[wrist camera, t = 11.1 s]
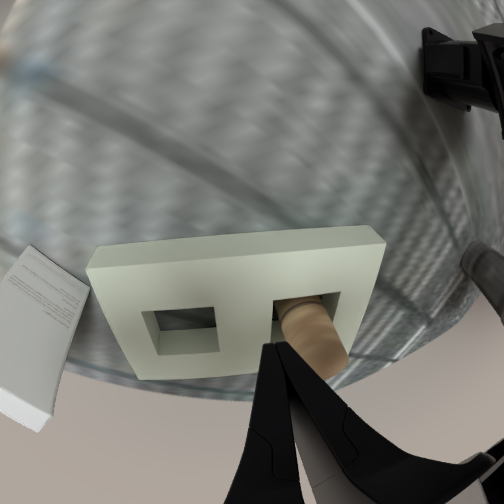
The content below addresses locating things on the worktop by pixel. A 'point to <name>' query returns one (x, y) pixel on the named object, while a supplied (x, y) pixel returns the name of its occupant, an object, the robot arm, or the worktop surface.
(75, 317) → the supplement box
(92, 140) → the worktop surface
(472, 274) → the beverage cup
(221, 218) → the worktop surface
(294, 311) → the peg
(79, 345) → the worktop surface
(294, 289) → the board
